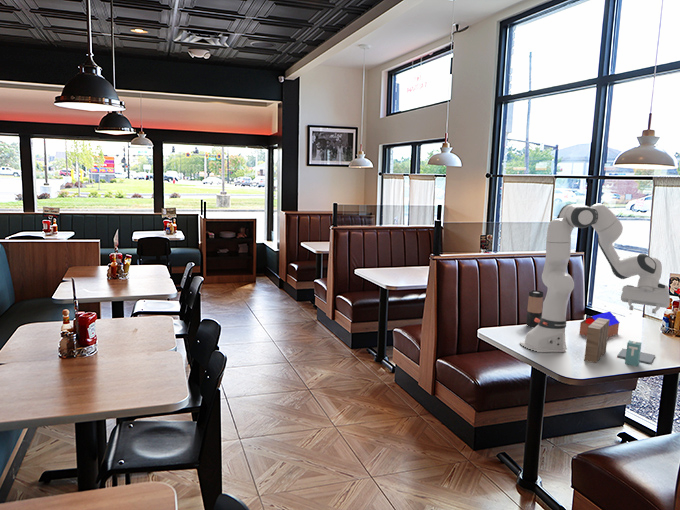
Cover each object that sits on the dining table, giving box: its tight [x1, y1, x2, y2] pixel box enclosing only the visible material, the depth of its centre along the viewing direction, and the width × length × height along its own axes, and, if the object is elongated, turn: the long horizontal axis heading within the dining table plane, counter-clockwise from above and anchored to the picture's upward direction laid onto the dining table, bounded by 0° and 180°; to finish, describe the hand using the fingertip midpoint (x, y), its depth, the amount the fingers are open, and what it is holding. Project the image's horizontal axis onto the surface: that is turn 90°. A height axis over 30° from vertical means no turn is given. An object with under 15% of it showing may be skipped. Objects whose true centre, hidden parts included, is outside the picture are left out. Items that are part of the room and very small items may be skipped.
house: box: [579, 311, 620, 338], centre depth 283 cm, size 12×20×12 cm, turn 127°
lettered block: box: [624, 340, 642, 367], centre depth 238 cm, size 5×5×10 cm
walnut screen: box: [584, 318, 609, 364], centre depth 247 cm, size 22×5×16 cm, turn 142°
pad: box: [616, 348, 656, 365], centre depth 248 cm, size 14×14×1 cm
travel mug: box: [526, 289, 544, 329], centre depth 294 cm, size 8×8×20 cm
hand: (642, 311), depth 245 cm, fingers open, 8 cm apart
